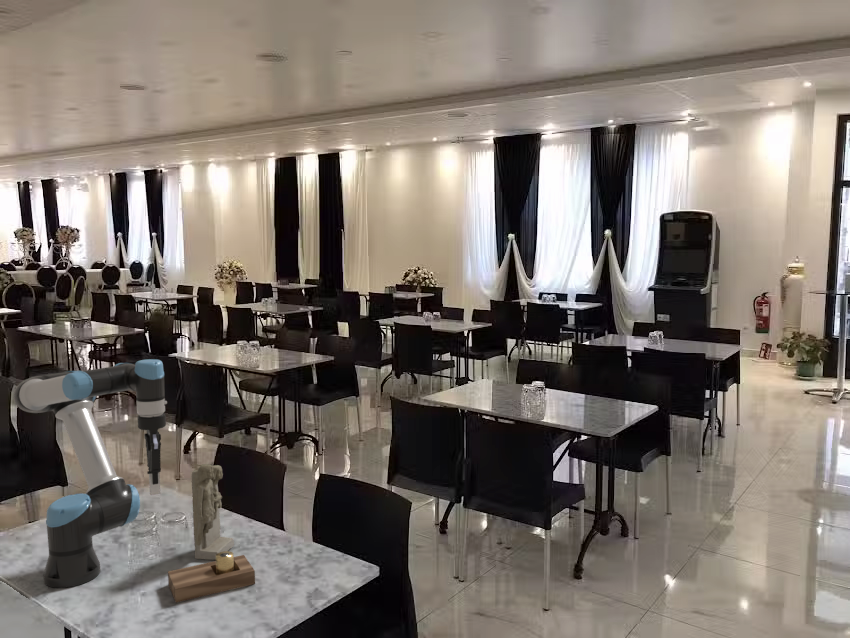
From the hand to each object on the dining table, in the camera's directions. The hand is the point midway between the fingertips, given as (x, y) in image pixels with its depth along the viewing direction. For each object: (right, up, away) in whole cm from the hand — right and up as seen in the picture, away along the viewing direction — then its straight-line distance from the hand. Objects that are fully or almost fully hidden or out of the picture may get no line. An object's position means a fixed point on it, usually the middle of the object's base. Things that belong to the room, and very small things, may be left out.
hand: (155, 493), depth 203 cm
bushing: (+20, -26, +2) cm, 33 cm away
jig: (+16, -26, 0) cm, 31 cm away
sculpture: (+10, -24, +21) cm, 34 cm away
